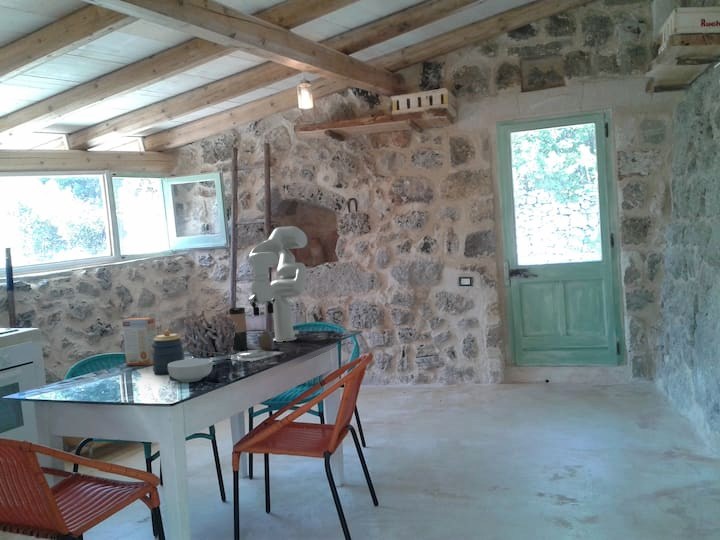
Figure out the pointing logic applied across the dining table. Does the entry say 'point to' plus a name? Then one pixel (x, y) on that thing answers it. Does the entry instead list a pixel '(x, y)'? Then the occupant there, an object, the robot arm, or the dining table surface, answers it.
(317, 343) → the dining table surface
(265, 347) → the vase
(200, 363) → the cereal bowl
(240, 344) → the travel mug
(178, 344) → the canister
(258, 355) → the flange plate
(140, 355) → the cracker box
